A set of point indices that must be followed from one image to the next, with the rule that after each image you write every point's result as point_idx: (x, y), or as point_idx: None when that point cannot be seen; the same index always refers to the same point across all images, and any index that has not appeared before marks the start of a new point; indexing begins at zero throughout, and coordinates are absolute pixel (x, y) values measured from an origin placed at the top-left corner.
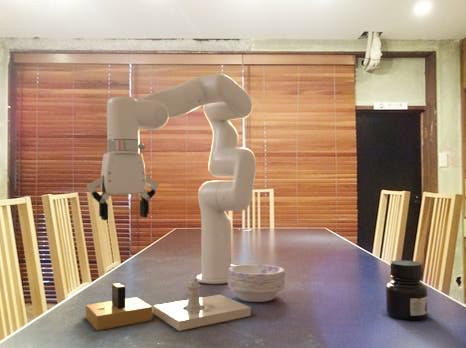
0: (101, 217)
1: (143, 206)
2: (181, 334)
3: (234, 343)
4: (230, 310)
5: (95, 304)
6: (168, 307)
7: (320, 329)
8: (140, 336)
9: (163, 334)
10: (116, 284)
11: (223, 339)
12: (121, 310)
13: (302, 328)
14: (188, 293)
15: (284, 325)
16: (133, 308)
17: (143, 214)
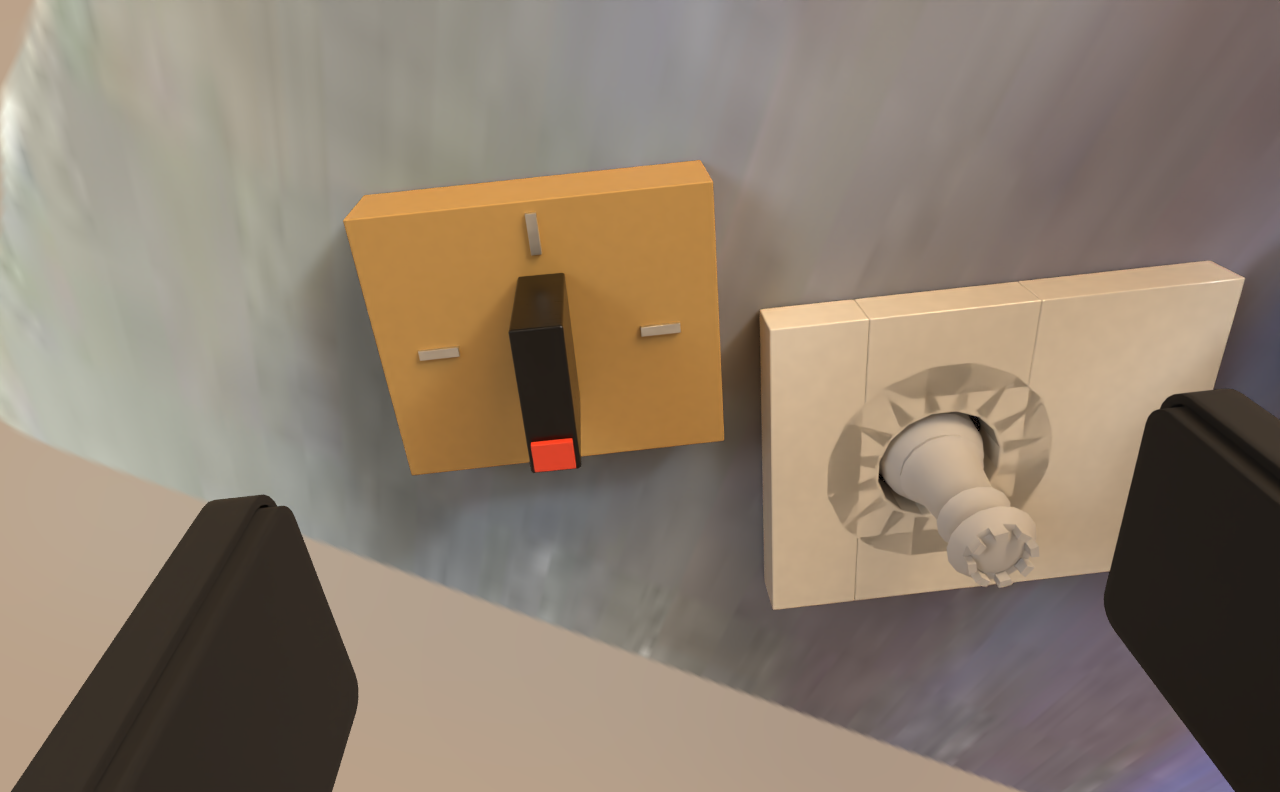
0: (204, 524)
1: (1265, 778)
2: (756, 613)
3: (873, 738)
4: (1053, 572)
5: (408, 240)
6: (827, 401)
7: None
8: (599, 573)
9: (692, 588)
10: (537, 361)
11: (864, 702)
12: None
13: (1162, 715)
14: (937, 523)
15: (1142, 672)
16: (621, 428)
17: (1136, 615)
